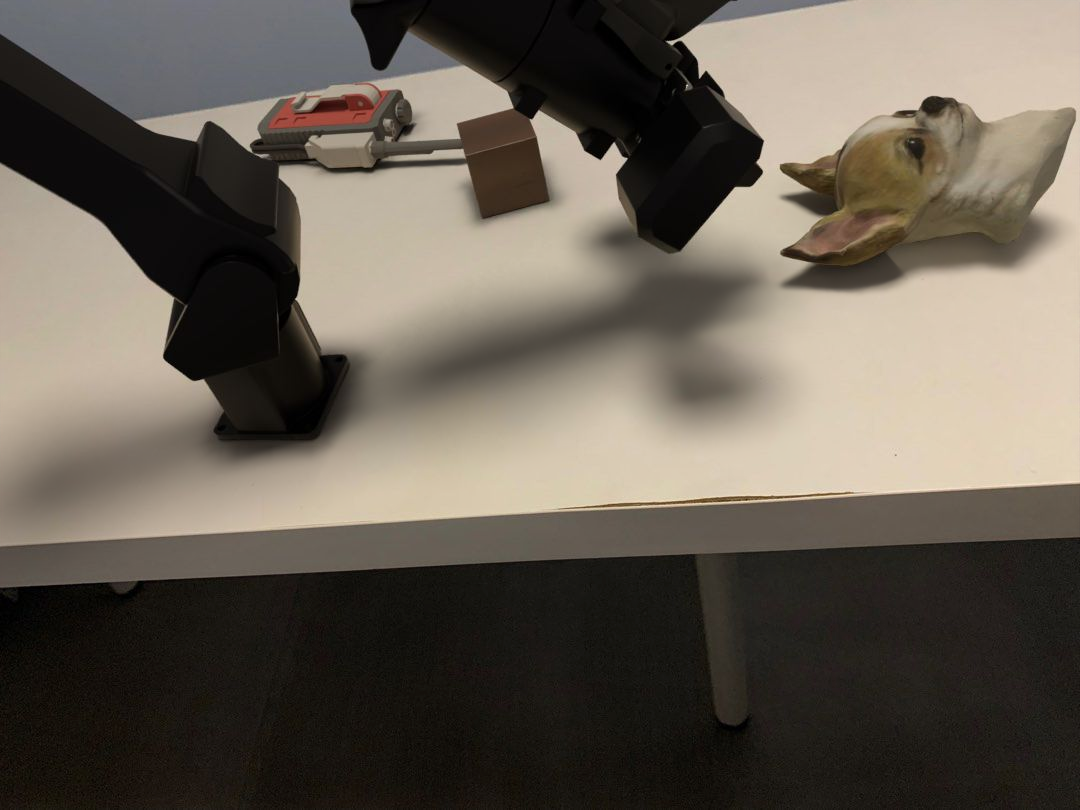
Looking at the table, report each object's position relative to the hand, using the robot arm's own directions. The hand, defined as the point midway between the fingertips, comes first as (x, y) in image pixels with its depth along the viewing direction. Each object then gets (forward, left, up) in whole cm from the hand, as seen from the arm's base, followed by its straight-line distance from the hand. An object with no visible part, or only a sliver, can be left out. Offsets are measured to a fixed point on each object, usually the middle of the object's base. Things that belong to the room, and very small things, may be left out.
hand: (755, 176), depth 46 cm
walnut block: (+11, +17, -7) cm, 21 cm away
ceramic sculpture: (+3, -9, -7) cm, 12 cm away
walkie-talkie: (+20, +31, -7) cm, 38 cm away
